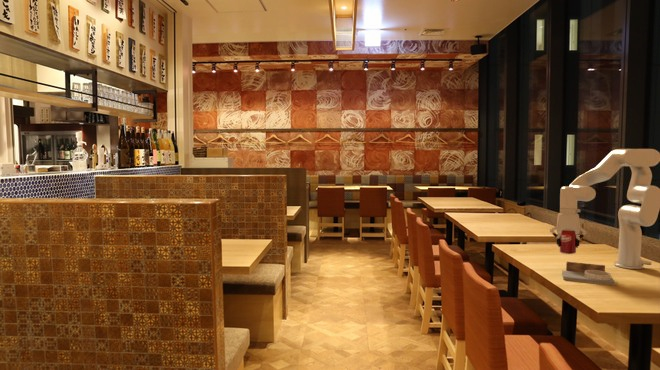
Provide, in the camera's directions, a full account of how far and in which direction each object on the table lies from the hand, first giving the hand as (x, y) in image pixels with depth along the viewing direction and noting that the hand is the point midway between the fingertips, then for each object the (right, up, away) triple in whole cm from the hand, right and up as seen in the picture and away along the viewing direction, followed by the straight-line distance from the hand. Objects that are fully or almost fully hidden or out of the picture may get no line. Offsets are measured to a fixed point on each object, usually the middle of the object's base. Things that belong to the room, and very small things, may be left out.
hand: (567, 246), depth 227 cm
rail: (+4, -12, -9) cm, 15 cm away
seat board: (-1, -13, -18) cm, 22 cm away
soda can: (0, -4, 0) cm, 4 cm away
